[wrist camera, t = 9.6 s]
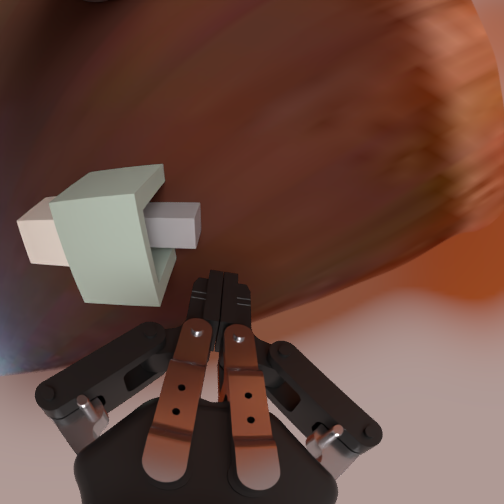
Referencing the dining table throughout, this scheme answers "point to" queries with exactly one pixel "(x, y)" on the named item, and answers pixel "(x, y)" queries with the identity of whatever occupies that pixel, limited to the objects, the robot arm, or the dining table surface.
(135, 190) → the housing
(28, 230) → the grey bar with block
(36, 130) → the dining table surface
